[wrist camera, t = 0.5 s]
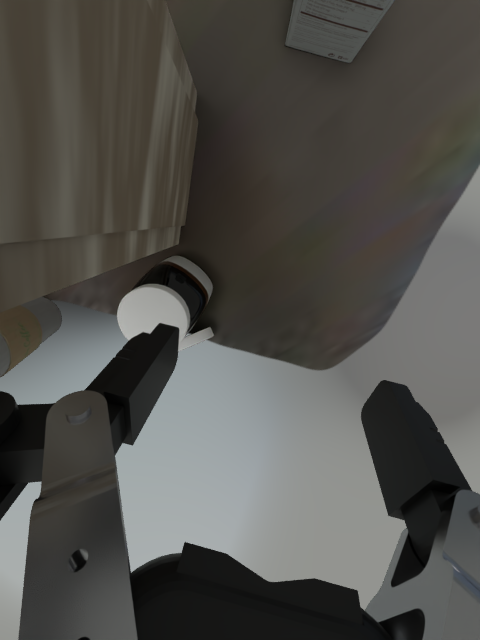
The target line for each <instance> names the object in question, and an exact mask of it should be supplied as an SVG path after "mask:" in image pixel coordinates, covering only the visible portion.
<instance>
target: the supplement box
mask: <svg viewBox="0 0 480 640" xmlns="http://www.w3.org/2000/svg"><path fill="white" fill-rule="evenodd" d="M394 1H395V0H294V2H293V7H292V13H291V18H290V23H289V28H288V33H287V37H286V42H285V45H286V46H289V47H292V48H295V49H299V50H303V51H306V52H310V53H313V54H317V55H320V56H324V57H328V58H331V59H335V60H339V61H343V62H347V63H351V62H352V60H353V59H354V57H355V56H356V55H357V53H358V52H359V50H360V49H361V47H362V46H363V44H364V43H365V42H366V40H367V39H368V37H369V36H370V35H371V33H372V32H373V30H374V29H375V28H376V26H377V25H378V23H379V22H380V20H381V19H382V18H383V16H384V15H385V13H386V12H387V11H388V9H389V8H390V6H391V5H392V4H393V2H394Z"/></svg>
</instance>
